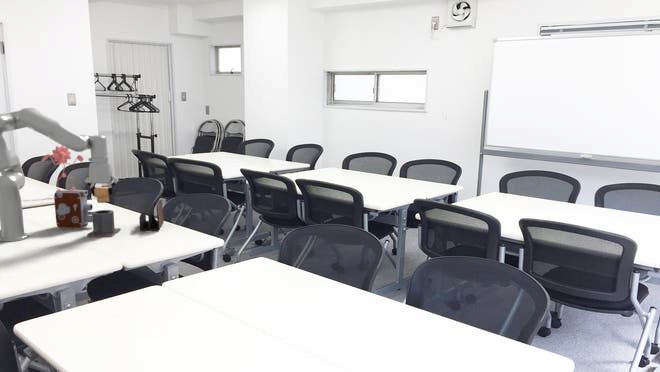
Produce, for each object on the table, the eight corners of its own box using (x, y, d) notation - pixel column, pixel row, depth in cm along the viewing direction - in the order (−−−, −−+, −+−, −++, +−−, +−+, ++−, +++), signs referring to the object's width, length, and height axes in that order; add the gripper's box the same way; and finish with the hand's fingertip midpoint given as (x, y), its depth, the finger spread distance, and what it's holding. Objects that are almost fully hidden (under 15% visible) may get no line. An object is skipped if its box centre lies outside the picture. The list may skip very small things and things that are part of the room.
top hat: (87, 236, 252) (85, 214, 250) (97, 230, 263) (95, 209, 261) (111, 236, 252) (110, 214, 250) (120, 230, 264) (119, 209, 262)
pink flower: (88, 194, 356) (84, 145, 351) (48, 199, 338) (43, 147, 333) (80, 192, 367) (75, 144, 361) (40, 197, 349) (35, 146, 343)
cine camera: (91, 229, 265) (88, 192, 262) (54, 229, 265) (51, 191, 262) (99, 225, 274) (97, 189, 271) (64, 224, 274) (61, 188, 271)
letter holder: (163, 222, 283) (162, 197, 280) (159, 231, 264) (158, 205, 261) (144, 223, 281) (143, 198, 278) (139, 232, 262) (138, 205, 259)
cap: (92, 203, 251) (91, 189, 250) (98, 200, 258) (97, 186, 257) (107, 203, 251) (106, 189, 250) (113, 200, 259) (112, 186, 258)
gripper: (78, 161, 247) (81, 197, 250) (114, 161, 248) (117, 196, 251) (85, 159, 255) (88, 194, 258) (120, 159, 255) (123, 193, 258)
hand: (102, 195), depth 254 cm, fingers closed on cap, 7 cm apart
